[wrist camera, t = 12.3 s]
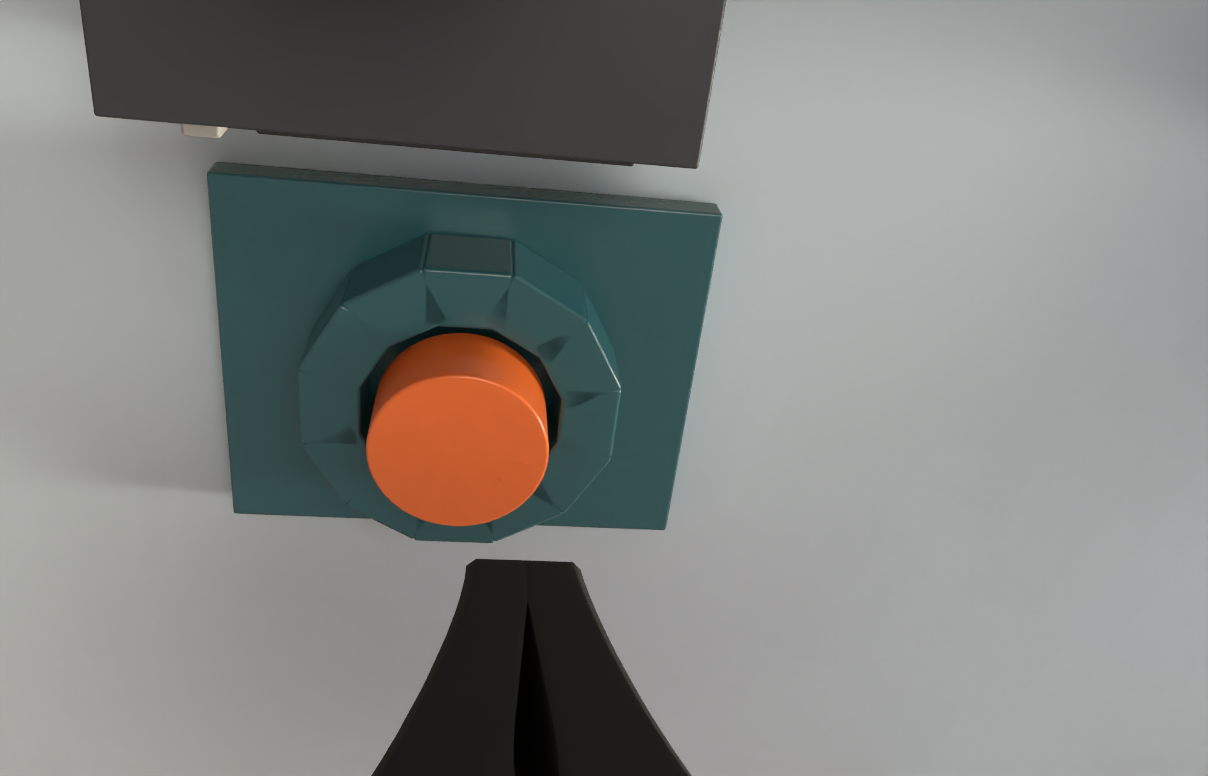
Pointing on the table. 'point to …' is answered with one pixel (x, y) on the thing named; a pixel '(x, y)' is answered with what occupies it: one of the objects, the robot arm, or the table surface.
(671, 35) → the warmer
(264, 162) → the table surface
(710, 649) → the table surface
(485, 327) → the control pad
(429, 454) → the button
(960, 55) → the table surface
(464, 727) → the robot arm
